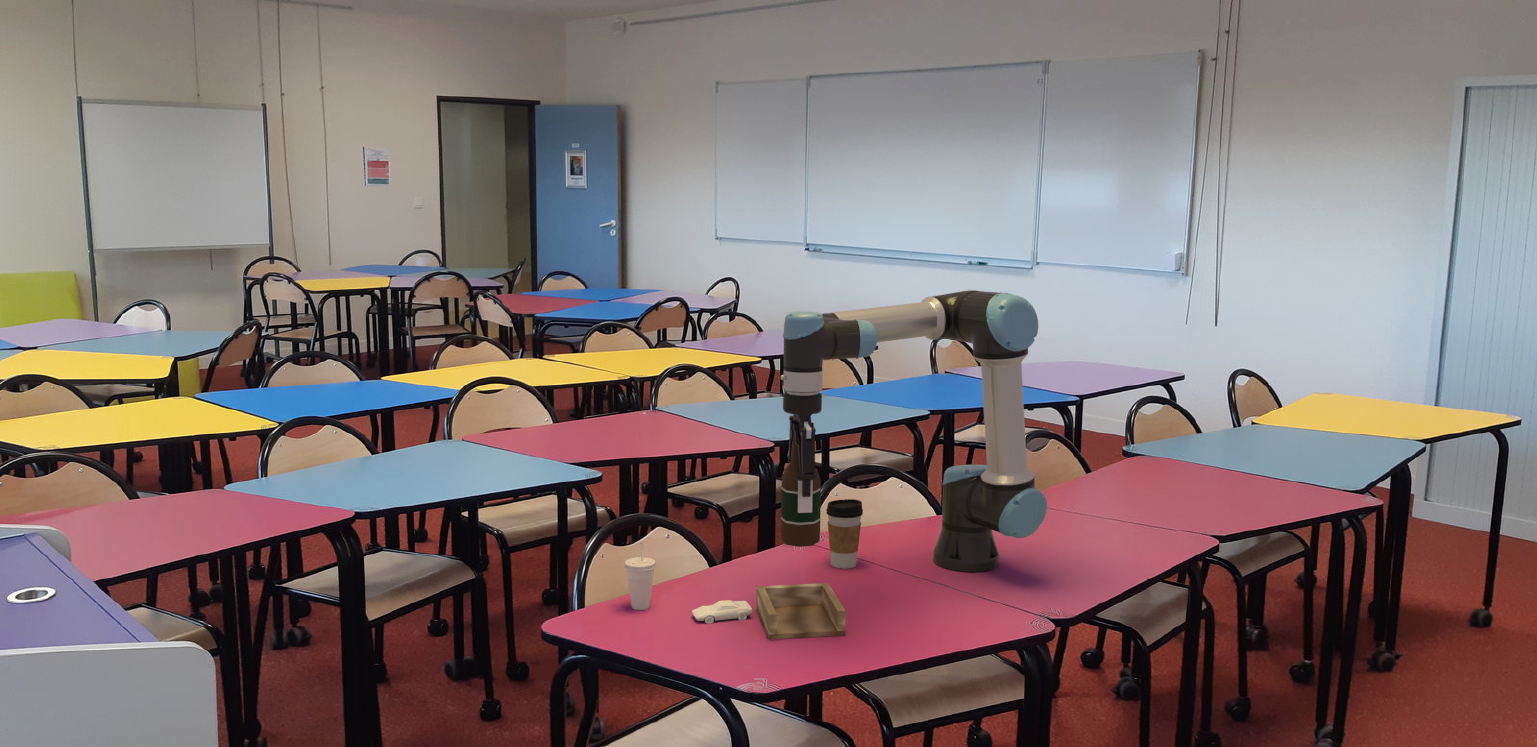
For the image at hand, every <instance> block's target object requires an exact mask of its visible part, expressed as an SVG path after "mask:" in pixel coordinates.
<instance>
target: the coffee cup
mask: <svg viewBox="0 0 1537 747" xmlns="http://www.w3.org/2000/svg"><path fill="white" fill-rule="evenodd" d="M863 514H864V510H863V502H862V501H861V500H860V499H855V498H854V499H853V498H852V499H850V498H849V499H836V500H831V501H829V502H827V507H826V515H828V516H827V517H828V518H827V519H828V521H827V530H828V542H829V543H828V544H829V555H830V566H832V567H833V568H835V569H844V570H845V569H852V568H855V567H856V566H857V562H858V561H857V560H858V551H859V543H860V542H859V541H860V535H861V527H862V526H861V525H862V522H861V519H862V518H861V517H862V516H863Z"/></svg>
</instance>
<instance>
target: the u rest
mask: <svg viewBox="0 0 1537 747" xmlns="http://www.w3.org/2000/svg"><path fill="white" fill-rule="evenodd" d="M755 589H756V594H755V595H756V599H755V600H756V601H755V602H756V604H755V605H756V606H755V607H756V613H757V614H758V617H759V620H760V622H761V624H762V627H763V629H764V631H765V634H766V636H767V639H768V640H769V641H770V640H784V639H804V638H807V639H808V638H821V637H825V638H826V637H839V636H840V637H841V636H842V637H843V636H846V620H847V618H846V616H847V615H846V614H847V612H846V609H845V607H844V606H843V604H842V603H841V601H840V600H839V598H838V596H837V595H836V594H835V591H834V590H833V589H832V587H831V585H830V584H829V583H828V582H826V583H825V582H824V583H823V582H822V583H819V582H818V583H804V584H803V583H801V584H782V585H781V584H780V585H779V584H778V585H760V586H759V585H758V586H756V588H755Z"/></svg>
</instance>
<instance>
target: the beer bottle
mask: <svg viewBox="0 0 1537 747" xmlns="http://www.w3.org/2000/svg"><path fill="white" fill-rule="evenodd" d="M794 423H797V422H794ZM792 427H793V426H792ZM806 473H809V472H806ZM815 475H816V477H815V479H813V493H812V513H798V481H796V477H799V476H800V474H799V457H798V446H797V445H796V444H795V433H794V434H793V447H792V457H791V462H790V463H788V465H787V466H786V468H785V469H784V472H783V474H782V477H781V487H780V488H781V492H780V494H781V495H780V501H781V502H780V539H781V541H782V542H783V543H784V544H785V545H786V546H791V547H792V546H793V547H797V548H799V547H800V548H801V547H802V548H803V547H804V548H805V547H813V546H814V545H817V544H818V543H819V542H820V537H821V536H820V535H821V512H822V511H821V508H822V507H821V502H822V501H821V499H822V498H821V497H822V496H821V495H822V484H821V477H820V473H819V471H818V469H817V468H816V467H815Z"/></svg>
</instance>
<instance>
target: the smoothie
mask: <svg viewBox="0 0 1537 747" xmlns="http://www.w3.org/2000/svg"><path fill="white" fill-rule="evenodd" d="M656 564H657V563H656V560H655V559H653V558H651V557H645V555H644V540H642V539H641V540H640V557H639V556H636V557H632V558H628V559H626V560H625V561H624V568H625V569H626V577H627V582H628V591H629V597H630V598H629V599H630V606H631V609H633V610H636V611H643V610H647V609H649V608H650V607H651V596H652V588H653V580H654V572H655V570H654V569H655V568H656V567H657V566H656Z"/></svg>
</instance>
